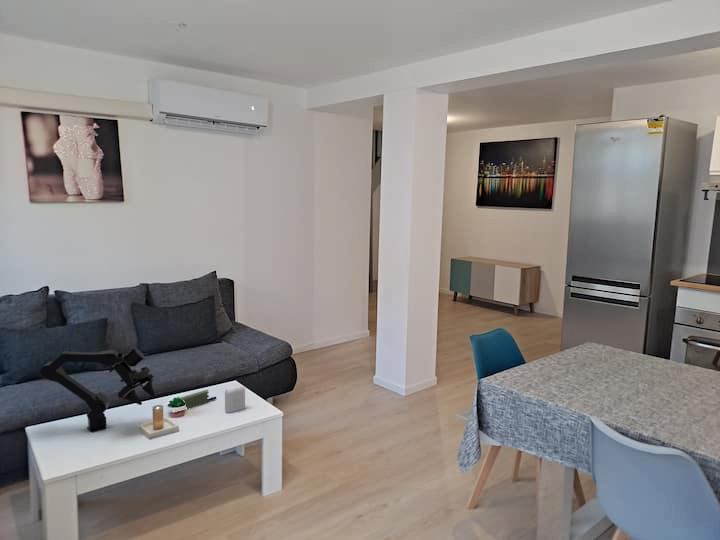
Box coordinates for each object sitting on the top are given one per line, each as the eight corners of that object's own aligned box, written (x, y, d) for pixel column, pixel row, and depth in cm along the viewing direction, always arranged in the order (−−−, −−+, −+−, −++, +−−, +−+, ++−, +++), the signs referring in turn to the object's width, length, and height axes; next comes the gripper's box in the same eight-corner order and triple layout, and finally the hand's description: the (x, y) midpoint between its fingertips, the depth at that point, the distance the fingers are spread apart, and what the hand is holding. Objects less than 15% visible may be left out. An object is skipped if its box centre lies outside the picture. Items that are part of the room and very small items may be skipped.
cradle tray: (149, 439, 227) (149, 433, 226) (138, 429, 236) (138, 424, 236) (178, 431, 235) (178, 425, 235) (167, 422, 245) (166, 417, 245)
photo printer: (241, 406, 266) (241, 382, 265) (246, 408, 263) (246, 384, 262) (223, 411, 259) (223, 387, 258) (228, 414, 256) (227, 389, 255)
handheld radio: (170, 412, 257) (213, 399, 276) (174, 414, 255) (217, 400, 274) (170, 399, 256) (213, 386, 276) (174, 401, 254) (217, 388, 274)
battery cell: (157, 431, 233) (157, 409, 232) (150, 429, 235) (150, 407, 234) (165, 427, 236) (165, 406, 235) (158, 425, 239) (158, 404, 237)
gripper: (122, 369, 225) (145, 398, 224) (150, 356, 243) (171, 382, 242) (107, 384, 228) (129, 412, 228) (135, 370, 246) (156, 396, 245)
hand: (147, 400), depth 236 cm, fingers open, 9 cm apart
